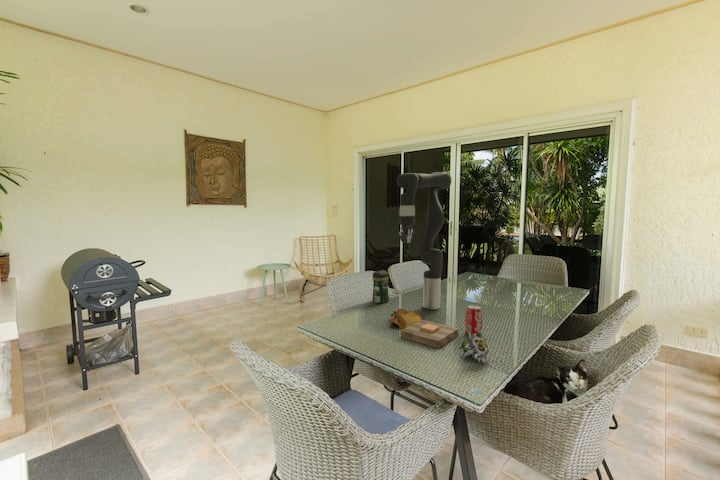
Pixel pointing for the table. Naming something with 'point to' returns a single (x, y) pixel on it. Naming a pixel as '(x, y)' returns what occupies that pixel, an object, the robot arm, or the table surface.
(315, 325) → the table surface
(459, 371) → the table surface
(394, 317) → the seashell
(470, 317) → the soda can
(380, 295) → the coffee jar
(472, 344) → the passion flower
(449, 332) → the button plate
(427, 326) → the push button
